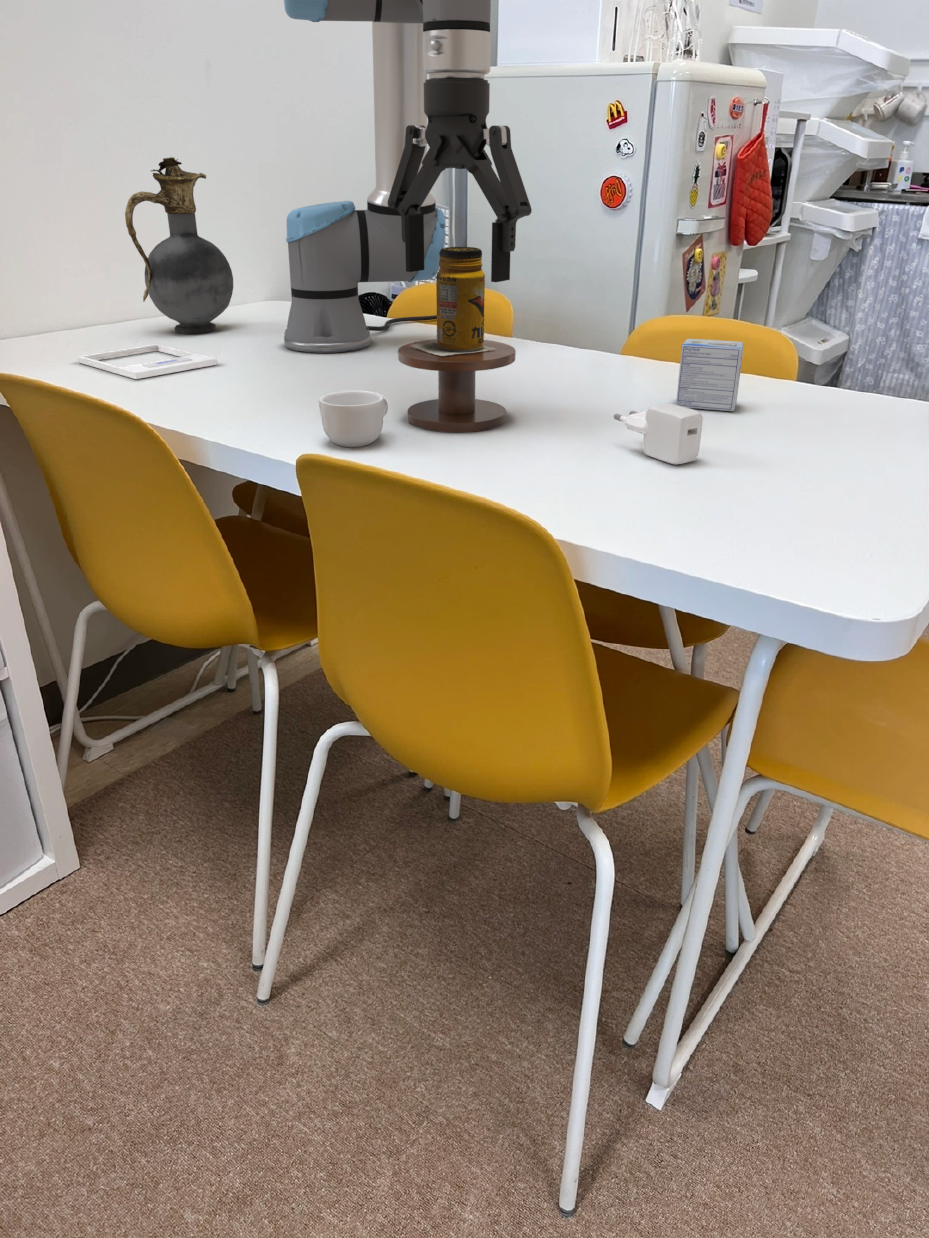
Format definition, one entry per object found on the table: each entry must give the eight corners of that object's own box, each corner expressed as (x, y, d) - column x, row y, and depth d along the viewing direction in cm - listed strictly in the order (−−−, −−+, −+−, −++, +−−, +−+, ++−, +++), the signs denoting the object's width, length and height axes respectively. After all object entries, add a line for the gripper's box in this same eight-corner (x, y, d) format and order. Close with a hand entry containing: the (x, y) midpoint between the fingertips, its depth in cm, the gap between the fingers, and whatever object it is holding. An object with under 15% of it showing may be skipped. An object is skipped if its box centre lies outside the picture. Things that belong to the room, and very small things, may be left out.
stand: (449, 399, 133) (449, 334, 129) (536, 417, 125) (538, 348, 120) (376, 421, 123) (373, 350, 118) (465, 441, 114) (465, 367, 110)
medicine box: (736, 405, 130) (745, 341, 127) (733, 413, 127) (742, 347, 123) (679, 400, 133) (686, 337, 129) (674, 408, 129) (681, 343, 125)
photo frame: (134, 372, 142) (77, 355, 153) (136, 379, 143) (78, 362, 154) (216, 357, 152) (156, 343, 163) (217, 364, 152) (157, 349, 163)
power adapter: (605, 445, 113) (609, 396, 110) (634, 438, 116) (638, 391, 113) (673, 468, 105) (679, 417, 102) (703, 461, 107) (709, 410, 105)
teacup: (354, 455, 109) (351, 409, 107) (308, 443, 113) (305, 399, 111) (410, 436, 116) (409, 393, 114) (365, 426, 120) (363, 384, 118)
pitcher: (246, 328, 182) (229, 157, 169) (160, 342, 169) (134, 158, 156) (213, 322, 189) (194, 156, 175) (128, 335, 176) (99, 157, 162)
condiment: (497, 350, 119) (499, 249, 114) (441, 357, 115) (440, 253, 109) (465, 341, 124) (465, 244, 119) (410, 348, 120) (408, 248, 115)
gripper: (354, 79, 110) (362, 269, 120) (527, 72, 96) (520, 289, 106) (397, 81, 115) (402, 264, 125) (567, 76, 101) (557, 282, 111)
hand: (456, 276), depth 116 cm, fingers open, 13 cm apart
